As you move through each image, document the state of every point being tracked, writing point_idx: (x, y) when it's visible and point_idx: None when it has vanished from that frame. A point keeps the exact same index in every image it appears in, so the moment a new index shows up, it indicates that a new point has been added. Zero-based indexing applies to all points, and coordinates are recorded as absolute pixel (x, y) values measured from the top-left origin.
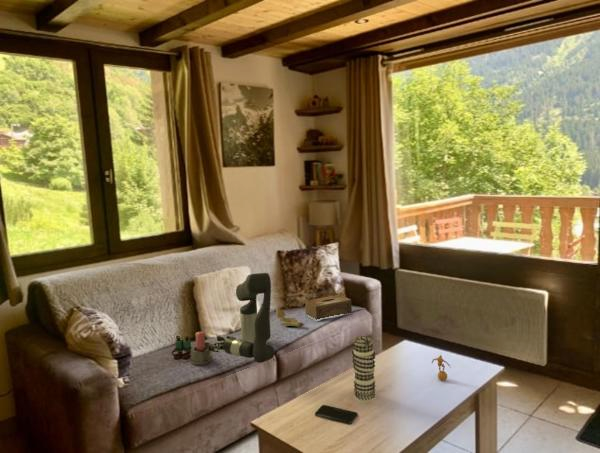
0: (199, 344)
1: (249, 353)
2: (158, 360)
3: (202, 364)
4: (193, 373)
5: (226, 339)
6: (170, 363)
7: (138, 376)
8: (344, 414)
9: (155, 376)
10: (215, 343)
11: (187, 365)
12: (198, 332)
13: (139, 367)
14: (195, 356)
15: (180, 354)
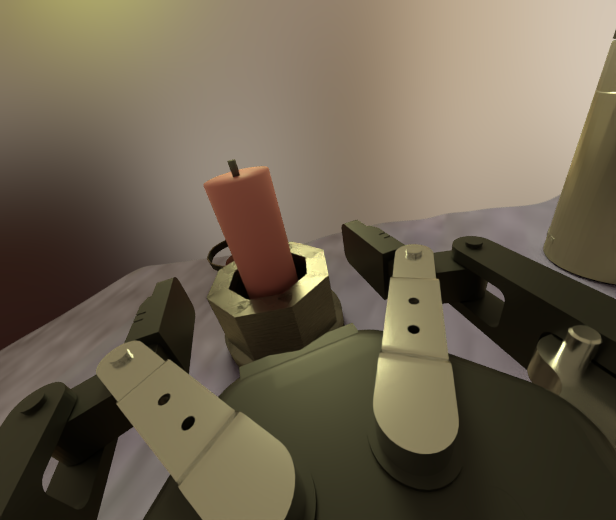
0: (235, 255)
1: None
2: (196, 262)
3: None
4: (131, 467)
5: (415, 392)
6: (194, 291)
7: (56, 328)
8: None
9: (59, 363)
10: (127, 413)
11: (211, 337)
12: (239, 171)
13: (131, 277)
14: (219, 319)
15: (220, 267)
